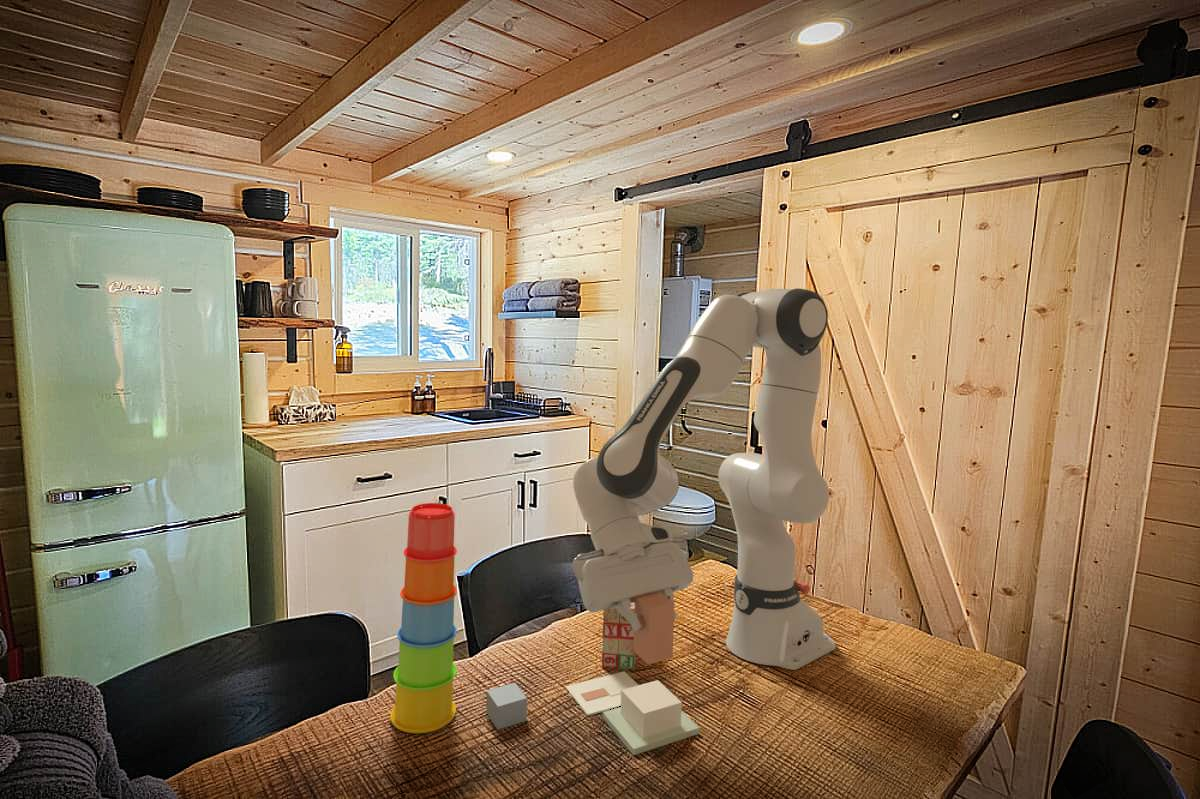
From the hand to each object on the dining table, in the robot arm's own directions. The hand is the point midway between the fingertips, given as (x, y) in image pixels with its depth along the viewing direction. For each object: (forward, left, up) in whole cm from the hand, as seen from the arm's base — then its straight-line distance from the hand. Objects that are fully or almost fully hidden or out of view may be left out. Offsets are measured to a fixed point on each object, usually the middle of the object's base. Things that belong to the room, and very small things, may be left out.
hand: (656, 624), depth 96 cm
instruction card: (+2, -12, -17) cm, 21 cm away
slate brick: (+20, -13, -17) cm, 29 cm away
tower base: (0, -1, -17) cm, 17 cm away
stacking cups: (+32, -19, -17) cm, 41 cm away
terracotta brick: (0, -1, -5) cm, 5 cm away
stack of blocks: (-9, -27, -17) cm, 33 cm away
